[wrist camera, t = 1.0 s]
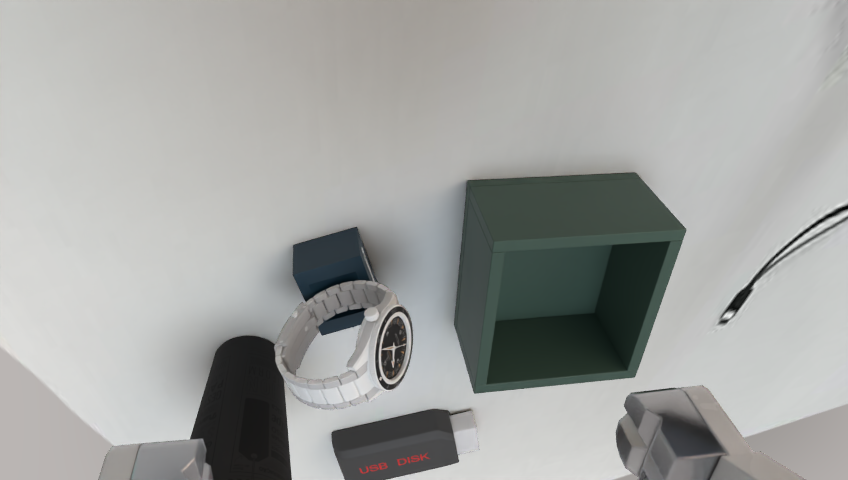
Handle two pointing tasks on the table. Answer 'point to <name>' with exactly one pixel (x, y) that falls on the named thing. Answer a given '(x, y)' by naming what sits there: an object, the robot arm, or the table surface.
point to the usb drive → (404, 444)
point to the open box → (561, 278)
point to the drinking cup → (245, 413)
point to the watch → (344, 323)
